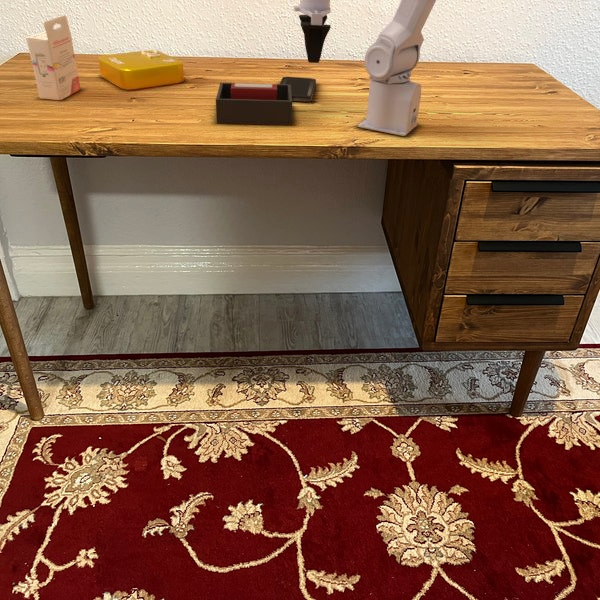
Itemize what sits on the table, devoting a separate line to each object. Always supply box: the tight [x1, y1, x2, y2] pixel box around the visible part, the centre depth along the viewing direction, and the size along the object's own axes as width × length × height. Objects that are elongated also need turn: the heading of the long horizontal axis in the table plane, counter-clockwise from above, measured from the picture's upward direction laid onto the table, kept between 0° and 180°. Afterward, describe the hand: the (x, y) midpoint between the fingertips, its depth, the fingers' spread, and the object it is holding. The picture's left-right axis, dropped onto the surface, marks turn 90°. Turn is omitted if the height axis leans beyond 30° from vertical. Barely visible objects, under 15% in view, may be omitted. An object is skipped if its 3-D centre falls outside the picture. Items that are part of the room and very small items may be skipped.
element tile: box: [98, 49, 185, 91], centre depth 134 cm, size 15×15×5 cm
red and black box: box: [231, 82, 277, 100], centre depth 116 cm, size 9×3×5 cm, turn 92°
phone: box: [279, 76, 317, 103], centre depth 131 cm, size 8×1×15 cm
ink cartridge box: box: [25, 14, 81, 101], centre depth 120 cm, size 9×5×15 cm, turn 168°
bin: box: [215, 82, 293, 126], centre depth 116 cm, size 14×12×4 cm
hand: (312, 57), depth 119 cm, fingers open, 7 cm apart
